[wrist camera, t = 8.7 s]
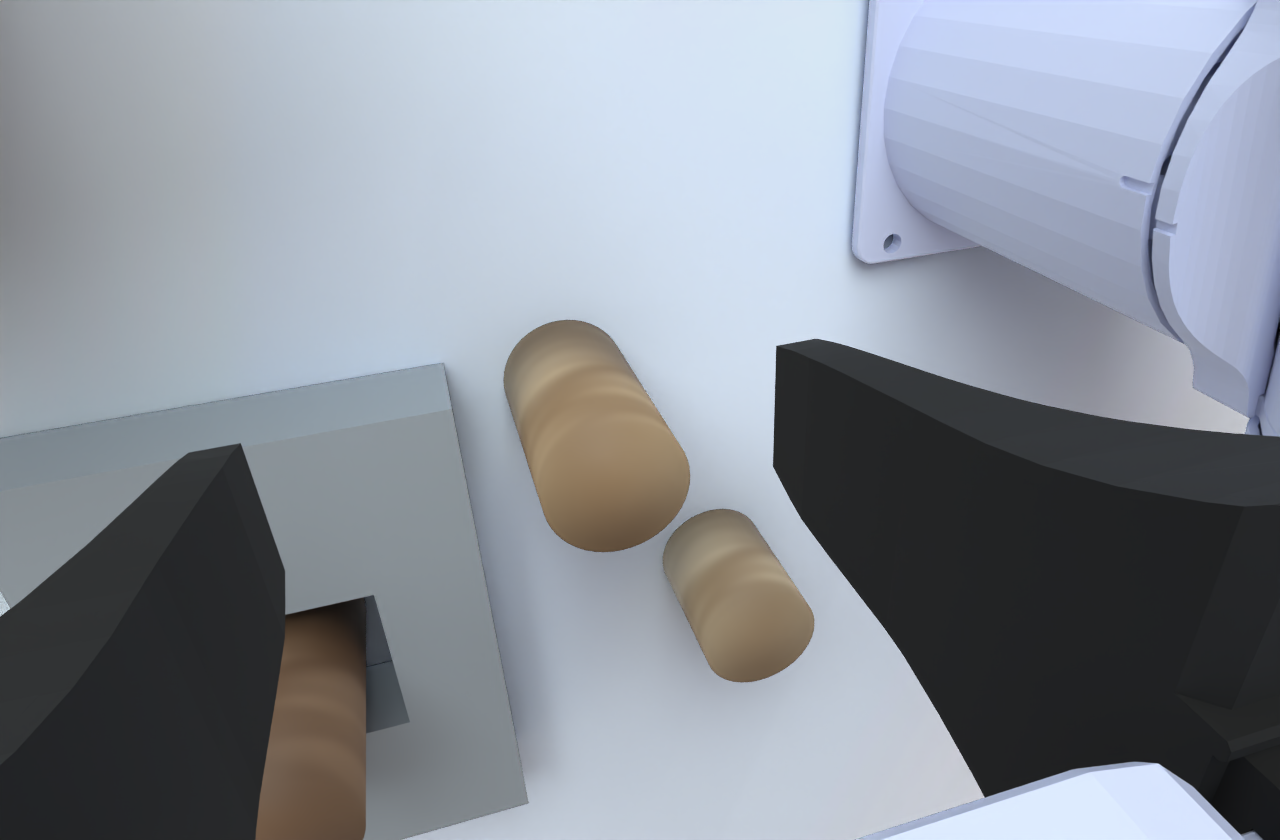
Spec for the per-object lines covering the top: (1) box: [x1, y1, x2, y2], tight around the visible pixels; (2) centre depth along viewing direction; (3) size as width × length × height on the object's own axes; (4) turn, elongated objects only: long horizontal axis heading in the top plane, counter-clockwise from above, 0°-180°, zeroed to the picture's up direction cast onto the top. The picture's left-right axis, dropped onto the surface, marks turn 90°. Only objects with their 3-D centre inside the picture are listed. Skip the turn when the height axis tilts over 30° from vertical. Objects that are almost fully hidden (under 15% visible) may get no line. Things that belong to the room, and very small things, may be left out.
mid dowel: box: [504, 320, 690, 552], centre depth 20 cm, size 3×3×6 cm
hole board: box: [0, 363, 528, 840], centre depth 22 cm, size 10×14×2 cm
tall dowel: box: [256, 597, 366, 840], centre depth 21 cm, size 3×3×7 cm
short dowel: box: [663, 509, 814, 682], centre depth 25 cm, size 3×3×4 cm
